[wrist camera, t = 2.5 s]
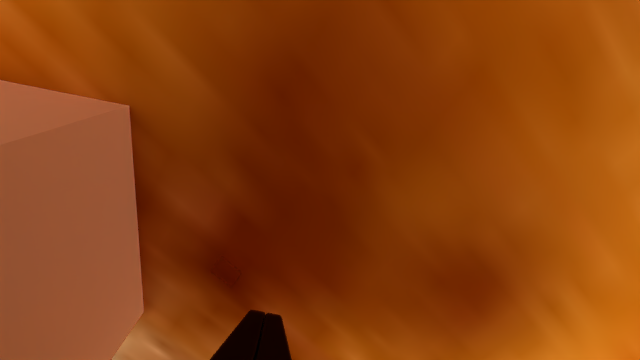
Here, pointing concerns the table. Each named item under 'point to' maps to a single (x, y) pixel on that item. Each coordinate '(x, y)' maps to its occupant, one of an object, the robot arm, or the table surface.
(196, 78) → the table surface
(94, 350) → the block
